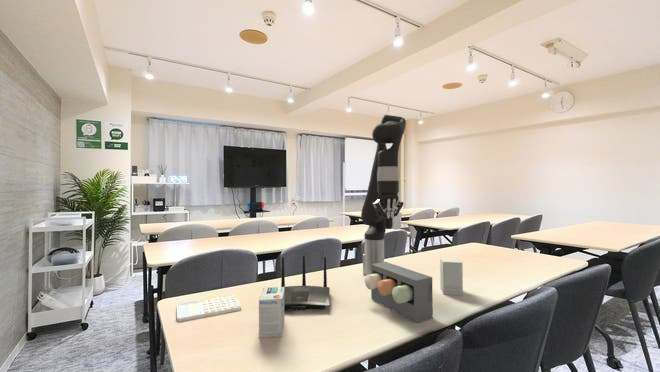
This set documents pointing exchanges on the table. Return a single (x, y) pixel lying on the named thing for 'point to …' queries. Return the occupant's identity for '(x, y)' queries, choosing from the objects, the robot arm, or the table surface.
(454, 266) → the supplement box
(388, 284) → the terracotta button
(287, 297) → the router
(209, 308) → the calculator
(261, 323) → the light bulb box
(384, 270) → the button panel
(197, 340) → the table surface
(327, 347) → the table surface
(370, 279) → the cream button
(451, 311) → the table surface
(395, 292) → the sage button
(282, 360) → the table surface
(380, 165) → the robot arm
